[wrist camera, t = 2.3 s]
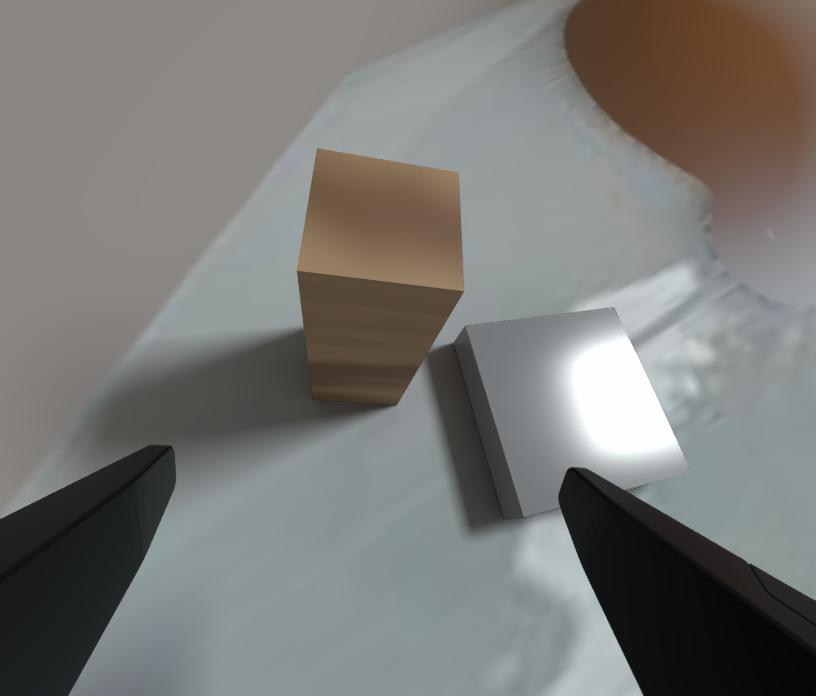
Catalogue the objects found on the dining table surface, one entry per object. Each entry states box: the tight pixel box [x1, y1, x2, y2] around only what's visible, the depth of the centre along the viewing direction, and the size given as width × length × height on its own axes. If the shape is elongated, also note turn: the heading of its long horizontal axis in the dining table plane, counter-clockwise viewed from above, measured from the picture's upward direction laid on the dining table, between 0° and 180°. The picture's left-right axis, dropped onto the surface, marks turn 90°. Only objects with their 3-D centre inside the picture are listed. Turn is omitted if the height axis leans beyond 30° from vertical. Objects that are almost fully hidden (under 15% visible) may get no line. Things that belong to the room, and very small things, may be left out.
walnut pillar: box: [297, 148, 464, 405], centre depth 19 cm, size 5×5×13 cm
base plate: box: [454, 307, 691, 518], centre depth 25 cm, size 11×11×2 cm
